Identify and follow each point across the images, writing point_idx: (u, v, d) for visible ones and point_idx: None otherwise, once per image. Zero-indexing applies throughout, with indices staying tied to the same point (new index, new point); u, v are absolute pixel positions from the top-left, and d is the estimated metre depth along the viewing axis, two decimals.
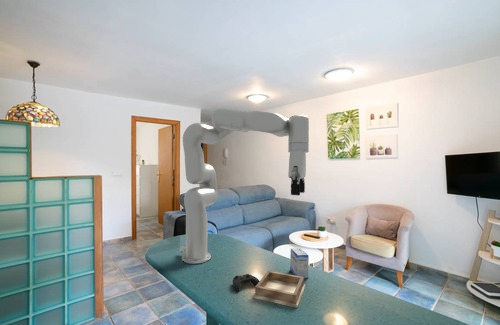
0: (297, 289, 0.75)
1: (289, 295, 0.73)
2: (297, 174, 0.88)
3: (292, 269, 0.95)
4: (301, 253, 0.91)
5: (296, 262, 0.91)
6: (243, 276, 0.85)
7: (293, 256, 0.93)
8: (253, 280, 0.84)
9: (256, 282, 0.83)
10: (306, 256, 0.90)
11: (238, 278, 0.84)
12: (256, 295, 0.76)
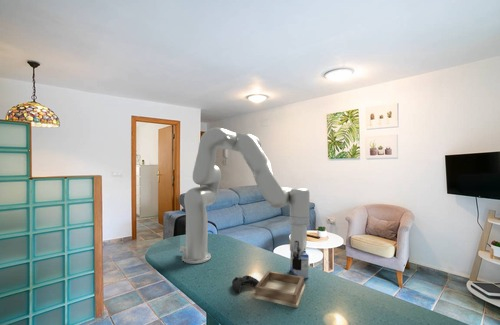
0: (297, 289, 0.75)
1: (289, 295, 0.73)
2: (298, 248, 0.91)
3: (292, 269, 0.95)
4: (301, 253, 0.91)
5: None
6: (243, 278, 0.84)
7: None
8: (253, 281, 0.83)
9: (256, 283, 0.82)
10: (306, 256, 0.90)
11: (238, 280, 0.83)
12: (256, 295, 0.76)
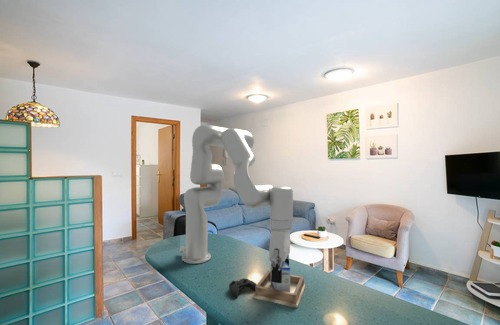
0: (297, 289, 0.75)
1: (289, 295, 0.73)
2: (279, 256, 0.77)
3: (272, 283, 0.81)
4: (282, 266, 0.78)
5: None
6: (240, 281, 0.82)
7: None
8: (251, 285, 0.81)
9: (254, 287, 0.80)
10: (287, 269, 0.77)
11: (235, 283, 0.80)
12: (256, 295, 0.76)
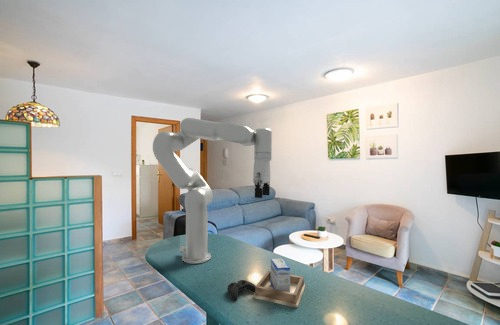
0: (297, 289, 0.75)
1: (289, 295, 0.73)
2: (260, 179, 1.02)
3: (272, 283, 0.81)
4: (282, 266, 0.78)
5: (276, 275, 0.77)
6: (238, 283, 0.81)
7: (273, 268, 0.80)
8: (249, 286, 0.80)
9: (253, 288, 0.79)
10: (287, 269, 0.77)
11: (234, 285, 0.79)
12: (256, 295, 0.76)
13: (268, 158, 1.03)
